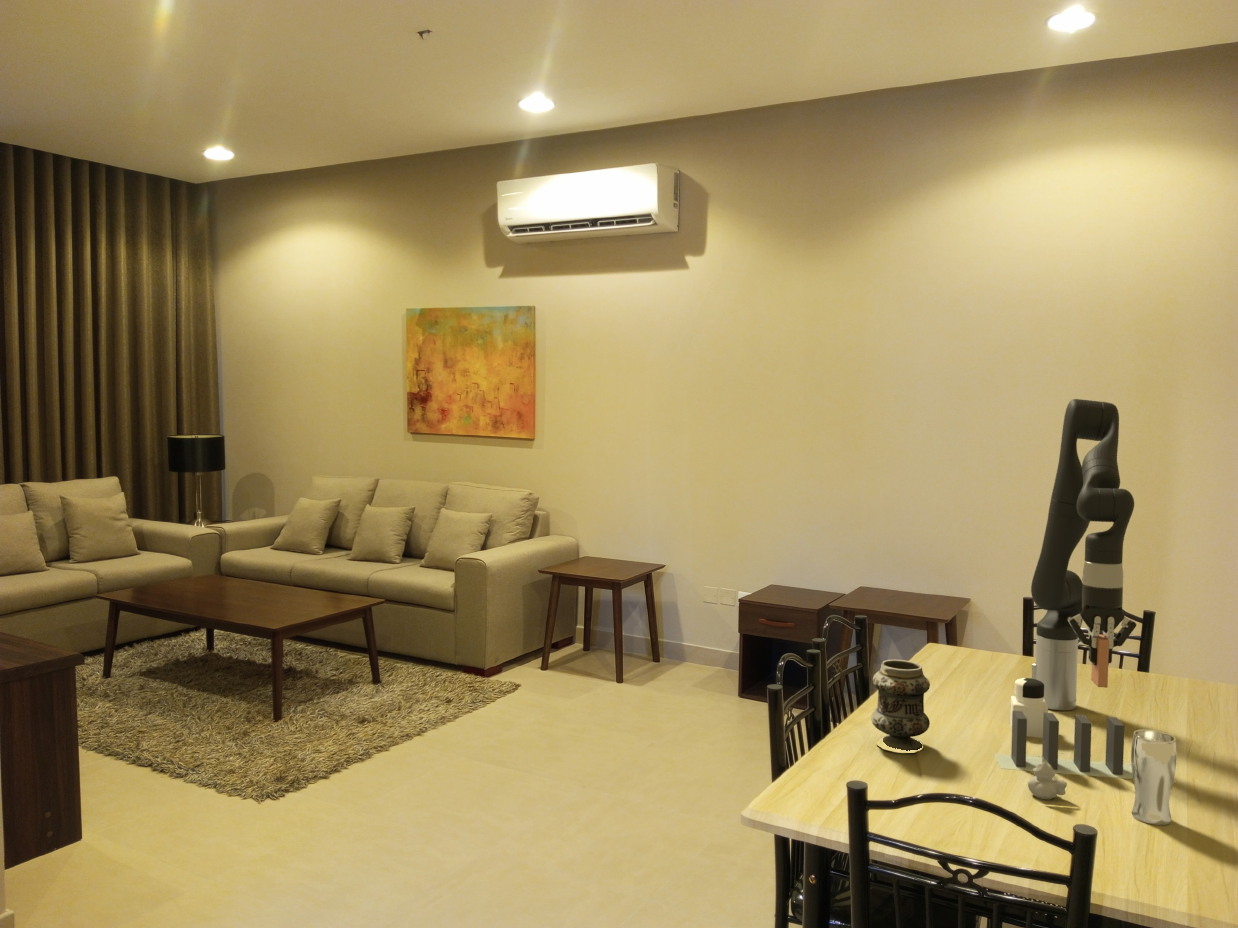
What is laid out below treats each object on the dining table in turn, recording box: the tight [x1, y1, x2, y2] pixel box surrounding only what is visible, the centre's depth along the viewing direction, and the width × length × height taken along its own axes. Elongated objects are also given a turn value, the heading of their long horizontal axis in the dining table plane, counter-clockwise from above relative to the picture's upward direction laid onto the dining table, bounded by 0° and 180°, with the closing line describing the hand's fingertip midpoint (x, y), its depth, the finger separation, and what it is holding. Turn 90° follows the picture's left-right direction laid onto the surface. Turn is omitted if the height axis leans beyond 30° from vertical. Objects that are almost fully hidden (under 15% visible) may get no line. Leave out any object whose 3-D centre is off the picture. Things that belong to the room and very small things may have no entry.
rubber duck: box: [1027, 755, 1068, 801], centre depth 173 cm, size 5×7×8 cm
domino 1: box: [1010, 711, 1028, 768], centre depth 190 cm, size 2×5×10 cm, turn 168°
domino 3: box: [1073, 714, 1092, 773], centre depth 187 cm, size 2×5×10 cm, turn 167°
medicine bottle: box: [1009, 677, 1049, 739], centre depth 208 cm, size 7×7×12 cm
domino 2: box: [1041, 712, 1060, 770], centre depth 188 cm, size 2×5×10 cm, turn 167°
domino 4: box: [1090, 633, 1109, 688], centre depth 195 cm, size 2×5×10 cm, turn 167°
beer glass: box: [1130, 728, 1177, 826], centre depth 165 cm, size 7×7×15 cm
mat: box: [993, 753, 1177, 783], centre depth 187 cm, size 32×8×1 cm, turn 78°
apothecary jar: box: [870, 659, 931, 751], centre depth 199 cm, size 12×12×18 cm
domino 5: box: [1104, 716, 1125, 775], centre depth 186 cm, size 2×5×10 cm, turn 168°
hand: (1100, 664), depth 195 cm, fingers closed on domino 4, 1 cm apart
